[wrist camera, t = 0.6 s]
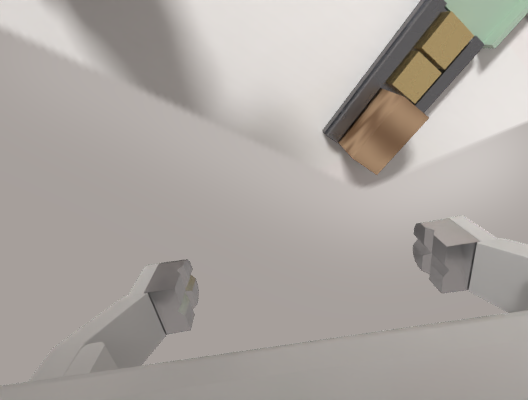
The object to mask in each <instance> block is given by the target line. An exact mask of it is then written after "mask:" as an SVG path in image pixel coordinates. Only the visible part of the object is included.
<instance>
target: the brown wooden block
mask: <svg viewBox="0 0 528 400" xmlns="http://www.w3.org/2000/svg"><path fill="white" fill-rule="evenodd" d="M428 119H429V117H428V116H426V115H425V114H424V113H423V112H422V111H420V110H419V109H418V108H417V107H416V106H415V105H413V104H412V103H411V102H410V101H409V100H408V99H406V98H405V97H403V96H401V95H398V94H395V93H393V92H390V91H387V90H385V89H382V88H381V89H380V90H379V92H378V93H377V94H376V95H375V97H374V98H373V99H372V101H371V102H370V103H369V104H368V106H367V107H366V108H365V109H364V111H363V112H362V113H361V114H360V116H359V117H358V118H357V119H356V121H355V122H354V123H353V124H352V126H351V127H350V128H349V129H348V131H347V132H346V133H345V134H344V136H343V137H342V138H341V139H340V141H339V142H338V143H339V144H340V145H341V146H342V147H343V148H344V150H345V151H346V152H347V153H348V154H349V155H350V156H351V157H352V158H353V159H354V160H356V161H357V162H358V163H360V164H361V165H363V166H364V167H366V168H367V169H369V170H370V171H372V172H373V173H375V174H376V175H377V174H378V173H379V172H380V171H381V170H382V169H383V168H384V167H385V166H386V165H387V163H388V162H389V161H390V160H391V159H392V158H393V157H394V156H395V155H396V154H397V152H398V151H399V150H400V149H401V148H402V147H403V146H404V145H405V144H406V143H407V142H408V140H409V139H410V138H411V137H412V136H413V135H414V134H415V133H416V132H417V131H418V129H419V128H420V127H421V126H422V125H423V124H424V123H425V122H426V121H427V120H428Z"/></svg>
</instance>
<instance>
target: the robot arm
mask: <svg viewBox="0 0 528 400" xmlns="http://www.w3.org/2000/svg"><path fill="white" fill-rule="evenodd" d="M414 235H415V236H416V237H417V238H418V240H417V241H416V242H415V243H414V245H413V255H414V258H415V262H416V263H417V265H418V267H419V268H420V269H421V270H422V271H423V272H426V273H428V274H430V277H429V279H430V281H431V282H432V283H433V284H434V286H435V287H436V288H437V289H438V290H439V291H440V292H441V293H448V292H456V291H464V290H469V292H471V293H473V294H474V295H476V296H478V297H480V298H482V299H484V300H486V301H487V302H490V303H491V304H493V305H495V306H497V307H499V308H501V309H503V310H504V311H506V312H508V313H505V314H498V315H491V316H484V317H477V318H470V319H463V320H456V321H448V322H441V323H435V324H427V325H420V326H413V327H406V328H400V329H393V330H386V331H379V332H372V333H365V334H358V335H351V336H344V337H337V338H330V339H323V340H317V341H310V342H303V343H296V344H289V345H282V346H275V347H268V348H261V349H254V350H247V351H240V352H233V353H226V354H219V355H212V356H205V357H199V358H191V359H185V360H177V361H170V362H163V363H156V364H149V365H142V364H143V363H144V362H145V361H146V359H147V358H148V357H149V356H150V354H151V353H152V352H153V351H154V349H156V347H157V346H158V345H159V344H160V343H161V341H162V340H163V339H164V338H165V337H166V335H167V334H172V333H178V332H183V331H189V330H191V327H192V323H193V319H194V312H193V308H194V307H195V306H196V305H197V303H198V295H199V290H198V284H197V281H196V279H195V278H194V277H193V276H191V272H192V266H191V263H190V261H188V260H187V259H186V260H179V261H171V262H164V263H157V264H151V265H147V266H145V267H144V269H143V270H142V272H141V274H140V276H139V277H138V279H137V281H136V282H135V284H134V286H133V287H132V289H131V291H130V293H129V294H128V296H125V297H122V298H121V299H119V300H118V301H117V302H115V303H114V304H113V305H111V306H110V307H108V308H107V309H106V310H104V311H103V312H102V313H100V314H99V315H97V316H96V317H95V318H93V319H92V320H91V321H90V322H88V323H86V324H85V325H84V326H82V327H81V328H80V329H78V330H77V331H75V332H74V333H73V334H71V335H70V336H69V337H67V338H66V339H65V340H63V341H62V342H60V343H59V344H58V345H56V346H55V347H54V348H53V349H52V350H51V351H50V353H49V354H48V355H47V357H46V358H45V359H44V361H43V362H42V364H41V365H40V366H39V368H38V369H37V370H36V372H35V373H34V374H33V376H32V377H31V379H30V380H29V381H28V382H23V383H16V384H10V385H3V386H0V400H528V245H527V244H523V243H519V242H516V241H512V240H508V239H504V238H503V239H498V238H496V237H495V236H493V235H492V234H490V233H489V232H487V231H486V230H484V229H483V228H481V227H480V226H478V225H477V224H475V223H474V222H472V221H471V220H469V219H468V218H466V217H464V216H455V217H450V218H445V219H440V220H435V221H429V222H423V223H418V224H416V225H415V228H414ZM141 365H142V366H141Z"/></svg>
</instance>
